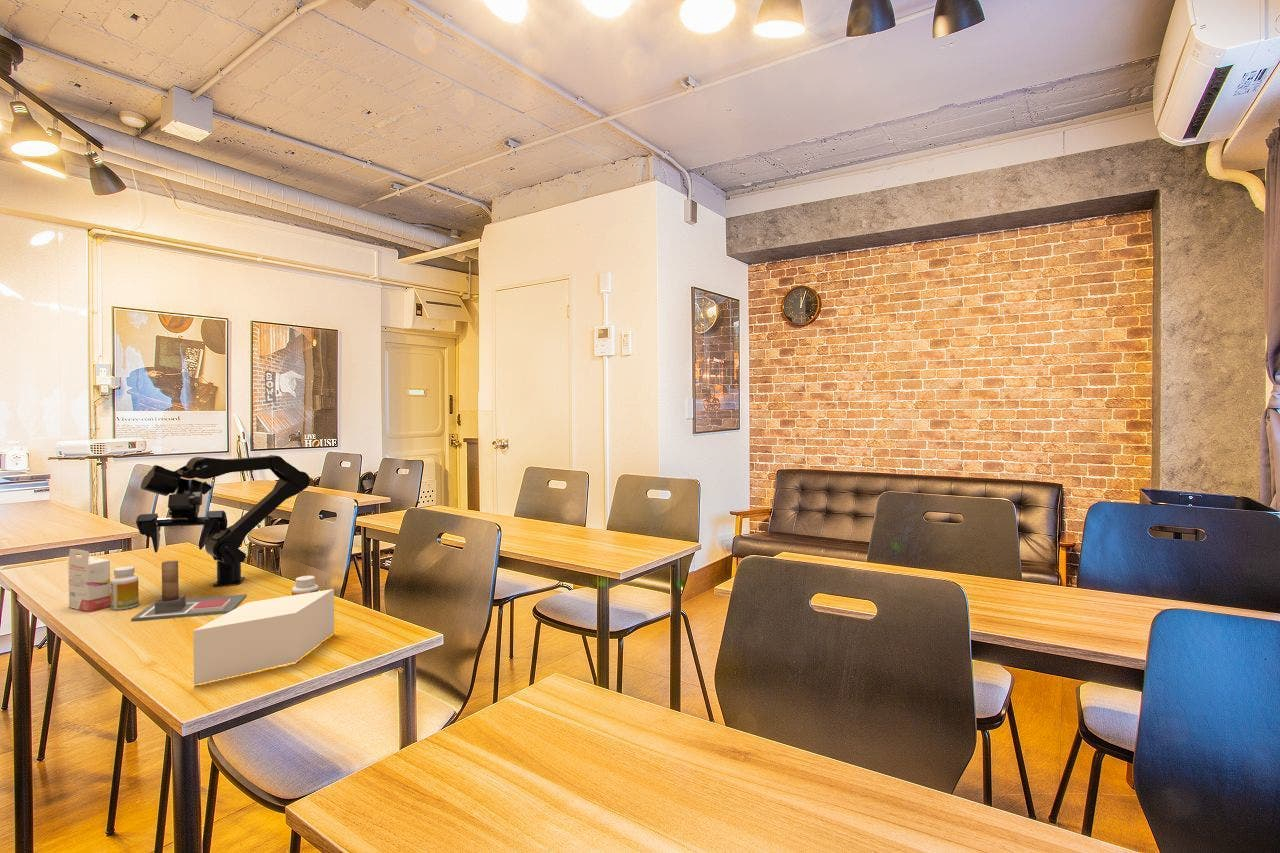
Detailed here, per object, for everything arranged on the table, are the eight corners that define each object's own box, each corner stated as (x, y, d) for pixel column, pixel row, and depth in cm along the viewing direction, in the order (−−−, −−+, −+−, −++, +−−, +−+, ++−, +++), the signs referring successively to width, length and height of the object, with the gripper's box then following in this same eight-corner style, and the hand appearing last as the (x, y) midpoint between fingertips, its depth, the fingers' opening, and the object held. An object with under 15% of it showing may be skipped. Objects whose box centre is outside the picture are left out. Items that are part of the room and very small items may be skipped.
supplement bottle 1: (144, 604, 159) (143, 565, 159) (125, 610, 154) (124, 571, 153) (124, 603, 160) (124, 565, 159) (104, 610, 154) (104, 570, 154)
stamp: (161, 607, 154) (160, 560, 154) (185, 605, 156) (185, 558, 156) (154, 613, 150) (154, 565, 150) (180, 611, 152) (179, 563, 152)
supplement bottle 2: (311, 625, 144) (311, 580, 144) (286, 625, 144) (286, 581, 144) (323, 617, 150) (322, 574, 150) (299, 617, 150) (298, 574, 150)
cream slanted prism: (169, 680, 116) (169, 624, 115) (311, 630, 142) (311, 584, 142) (219, 695, 110) (218, 637, 109) (357, 640, 136) (357, 593, 136)
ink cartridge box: (112, 606, 157) (111, 547, 157) (88, 612, 152) (87, 551, 152) (91, 602, 160) (90, 544, 160) (67, 608, 156) (66, 548, 155)
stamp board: (155, 603, 160) (155, 596, 159) (246, 596, 166) (246, 589, 166) (131, 621, 146) (131, 613, 146) (231, 612, 153) (230, 605, 153)
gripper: (137, 482, 159) (124, 534, 150) (225, 480, 167) (218, 529, 158) (146, 508, 167) (134, 560, 157) (230, 505, 175) (223, 553, 165)
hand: (178, 550), depth 159 cm, fingers open, 9 cm apart
